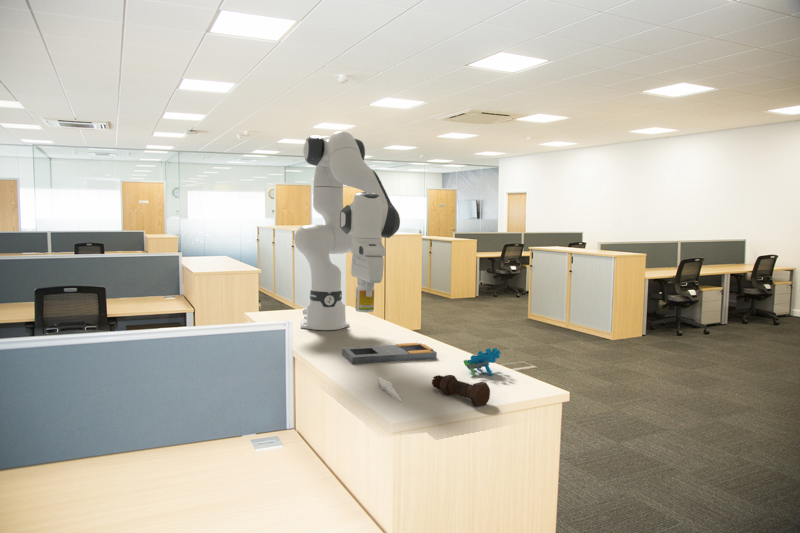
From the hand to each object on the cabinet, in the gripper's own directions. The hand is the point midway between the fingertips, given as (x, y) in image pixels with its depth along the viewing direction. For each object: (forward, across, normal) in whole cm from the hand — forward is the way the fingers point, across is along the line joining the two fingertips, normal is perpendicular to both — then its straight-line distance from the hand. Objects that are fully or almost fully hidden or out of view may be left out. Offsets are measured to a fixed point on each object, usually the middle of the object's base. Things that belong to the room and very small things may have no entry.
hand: (365, 295), depth 153 cm
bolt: (+19, +40, +12) cm, 45 cm away
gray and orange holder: (+19, 0, +8) cm, 20 cm away
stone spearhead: (+19, +32, -3) cm, 37 cm away
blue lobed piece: (+19, +23, +27) cm, 40 cm away
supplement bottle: (+5, 0, 0) cm, 5 cm away
